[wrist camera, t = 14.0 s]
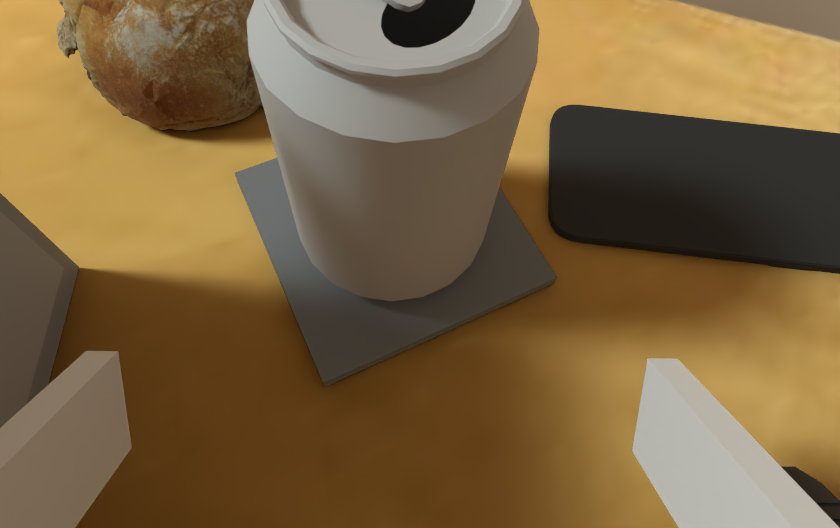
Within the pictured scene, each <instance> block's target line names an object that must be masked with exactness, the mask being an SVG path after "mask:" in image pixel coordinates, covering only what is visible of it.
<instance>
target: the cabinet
mask: <svg viewBox="0 0 840 528" xmlns="http://www.w3.org/2000/svg"><path fill="white" fill-rule="evenodd" d="M78 269H79V267H78V266H77V265H76V264H75V263H74V262H73V261H72V260H71V259H70V258H69V257H68V256H67V255H65V254H64V253H63V252H62V251H61V250H60V249H59V248H58V247H57V246H56V245H55V244H54V243H53V242H52V241H51V240H50V239H48V238H47V237H46V236H45V235H44V234H43V233H42V232H41V231H40V230H39V229H38V228H37V227H36V226H35V225H34V224H32V223H31V222H30V221H29V220H28V219H27V218H26V217H25V216H24V215H23V214H22V213H21V212H20V211H19V210H18V209H17V208H15V207H14V206H13V205H12V204H11V203H10V202H9V201H8V200H7V199H6V198H5V197H4V196H3V195H2V194H1V193H0V428H1V427H2V426H3V425H4V424H5V423H6V422H7V421H9V420H10V419H11V418H12V417H13V416H14V415H15V414H16V413H17V412H19V411H20V410H21V409H22V408H23V407H24V406H25V405H26V404H27V403H29V402H30V401H31V400H32V399H33V398H34V397H35V396H36V395H37V394H39V393H40V392H41V391H42V390H43V389H44V388H45V387H46V386H47V385H48V384H49V380H50V376H51V373H52V369H53V365H54V361H55V357H56V353H57V350H58V346H59V342H60V338H61V334H62V331H63V327H64V323H65V319H66V315H67V311H68V308H69V304H70V300H71V296H72V292H73V288H74V285H75V281H76V277H77V273H78Z"/></svg>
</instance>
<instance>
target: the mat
mask: <svg viewBox="0 0 840 528" xmlns="http://www.w3.org/2000/svg"><path fill="white" fill-rule="evenodd" d="M235 176H236V178H237V181H238V183H239V185H240V188H241V190H242V192H243V195H244V197H245V200H246V202H247V204H248V207H249V209H250V211H251V214H252V216H253V218H254V221H255V223H256V226H257V228H258V230H259V233H260V235H261V237H262V240H263V242H264V244H265V247H266V249H267V252H268V254H269V256H270V259H271V261H272V263H273V266H274V268H275V270H276V273H277V275H278V278H279V280H280V282H281V285H282V287H283V289H284V292H285V294H286V296H287V299H288V301H289V304H290V306H291V308H292V311H293V313H294V315H295V318H296V320H297V322H298V325H299V327H300V330H301V332H302V334H303V337H304V339H305V341H306V344H307V346H308V348H309V351H310V353H311V355H312V358H313V360H314V363H315V365H316V367H317V370H318V372H319V374H320V377H321V379H322V381H323V384H324V386H325V387H326V386H328V385H331V384H333V383H335V382H337V381H339V380H342V379H344V378H346V377H348V376H350V375H353V374H355V373H357V372H359V371H361V370H364V369H366V368H368V367H370V366H372V365H375V364H377V363H379V362H381V361H384V360H386V359H388V358H390V357H392V356H395V355H397V354H399V353H401V352H403V351H406V350H408V349H410V348H412V347H414V346H417V345H419V344H421V343H423V342H426V341H428V340H430V339H432V338H434V337H437V336H439V335H441V334H443V333H445V332H448V331H450V330H452V329H454V328H456V327H459V326H461V325H463V324H465V323H468V322H470V321H472V320H474V319H476V318H479V317H481V316H483V315H485V314H487V313H490V312H492V311H494V310H496V309H498V308H501V307H503V306H505V305H507V304H510V303H512V302H514V301H516V300H518V299H521V298H523V297H525V296H527V295H529V294H532V293H534V292H536V291H538V290H540V289H543V288H545V287H547V286H549V285H551V284H553V283H554V282H555V280H556V279H557V276H556V275H555V273H554V272H553V270H552V269H551V267H550V265H549V264H548V262H547V261H546V259H545V258H544V256H543V255H542V253H541V251H540V250H539V248H538V247H537V245H536V244H535V242H534V240H533V239H532V237H531V236H530V234H529V233H528V231H527V230H526V228H525V226H524V225H523V223H522V222H521V220H520V219H519V217H518V215H517V214H516V212H515V211H514V209H513V208H512V206H511V204H510V203H509V201H508V200H507V198H506V197H505V195H504V194H503V192H502V190H501V189H500V187H499V190H498V193H497V196H496V200H495V203H494V206H493V210H492V213H491V216H490V220H489V223H488V226H487V230H486V233H485V236H484V240H483V242H482V244H481V246H480V248H479V250H478V252H477V254H476V256H475V258H474V260H473V262H472V264H471V265H470V266H469V267H468V268H467V269H466V270H465V271H464V272H463V273H462V274H461V275H460V276H459V277H457V278H456V279H455V280H454V281H453V282H452V283H451V284H450V285H448V286H445V287H443V288H441V289H439V290H437V291H435V292H433V293H431V294H428V295H426V296H424V297H420V298H413V299H406V300H399V301H385V300H379V299H372V298H365V297H360V296H358V295H356V294H354V293H352V292H350V291H347V290H345V289H343V288H341V287H339V286H337V285H335V284H333V283H332V282H331V281H330V280H329V279H328V278H327V277H326V276H325V275H323V274H322V273H321V272H320V271H319V270H318V269H317V268H316V267H315V266H314V265H313V264H312V263H311V261H310V259H309V257H308V254H307V252H306V250H305V248H304V246H303V244H302V242H301V240H300V238H299V234H298V231H297V227H296V223H295V220H294V216H293V213H292V209H291V205H290V202H289V198H288V195H287V191H286V187H285V184H284V180H283V177H282V173H281V169H280V166H279V162H278V158H276V159H273V160H270V161H267V162H264V163H261V164H259V165H256V166H253V167H250V168H247V169H244V170H241V171H239V172H236V173H235Z"/></svg>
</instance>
